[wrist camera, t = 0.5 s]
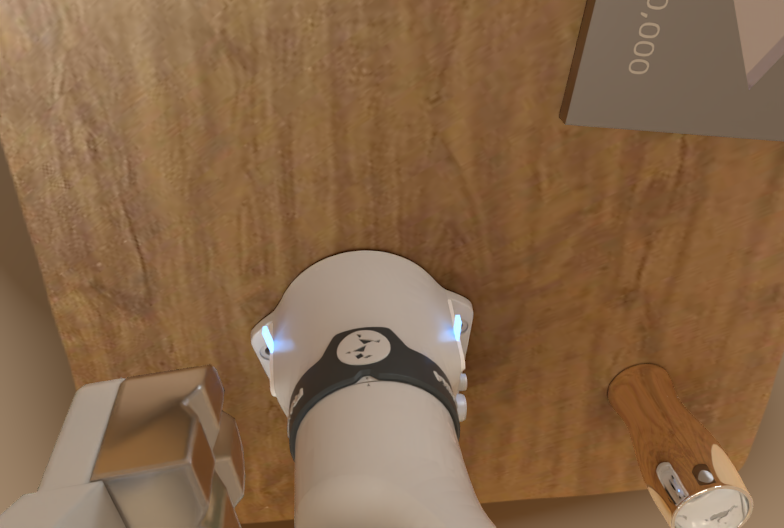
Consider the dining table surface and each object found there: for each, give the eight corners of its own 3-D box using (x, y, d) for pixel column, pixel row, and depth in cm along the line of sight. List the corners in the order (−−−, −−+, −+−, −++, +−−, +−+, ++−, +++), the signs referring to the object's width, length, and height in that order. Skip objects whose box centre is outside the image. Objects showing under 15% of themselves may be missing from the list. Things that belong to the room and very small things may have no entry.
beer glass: (662, 416, 73) (738, 545, 60) (594, 415, 72) (657, 546, 59) (684, 360, 69) (769, 484, 57) (613, 358, 68) (684, 484, 56)
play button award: (626, -125, 46) (914, -87, 49) (617, -127, 47) (898, -90, 50) (565, 124, 54) (814, 143, 57) (558, 117, 55) (803, 136, 58)
